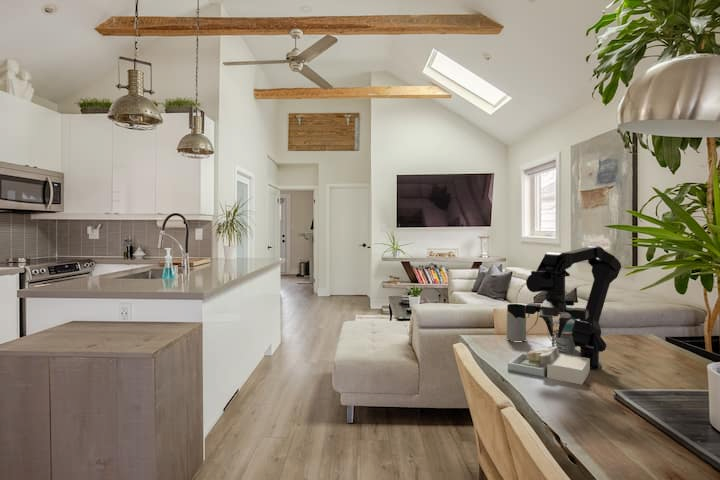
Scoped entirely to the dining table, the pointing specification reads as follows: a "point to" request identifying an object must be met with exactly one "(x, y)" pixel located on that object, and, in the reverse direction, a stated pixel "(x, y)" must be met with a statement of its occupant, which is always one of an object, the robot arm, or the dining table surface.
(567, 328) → the beverage bottle
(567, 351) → the french press
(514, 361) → the box
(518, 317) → the glass holder
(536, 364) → the sage tile
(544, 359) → the scraper
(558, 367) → the cream riser block
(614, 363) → the dining table surface
